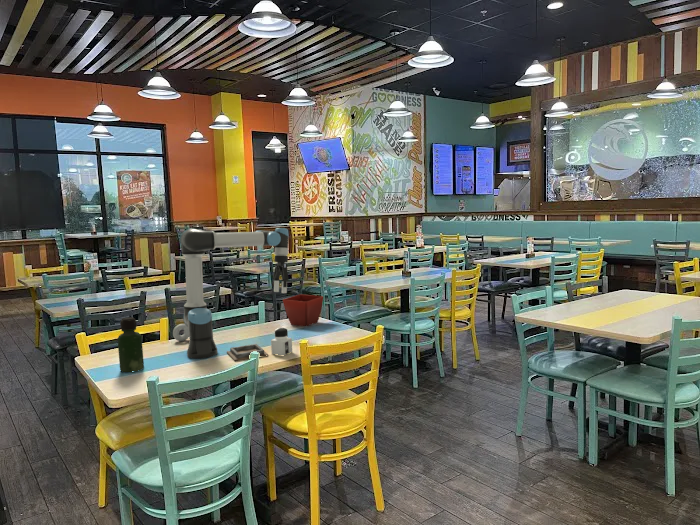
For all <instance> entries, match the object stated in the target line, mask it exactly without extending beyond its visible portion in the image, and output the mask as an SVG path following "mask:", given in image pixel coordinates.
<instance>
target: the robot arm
mask: <svg viewBox="0 0 700 525" xmlns="http://www.w3.org/2000/svg"><path fill="white" fill-rule="evenodd" d="M289 236H290V235H289V229H288V228H285V227H283V228H282V227H276V228H275V230H274V231H272V230H271V231H270V230H262V229H261V230H255V231H251V232H250V231H241V232H240V231H239V232H215V231H213V230H201V229H199V228H187V229H186V230H184V231H183V232H182V234H181V235H180V237H179V242H180V245H181V255H182V256H183V257H184V260H185V261H184V262H185V264H184V265H185V292H186V302H185V303H184V305H183V316H182V321H183V324H185V325H186V326H187V327H188V328H189V337H188V338H189V343H188V346H187V351H186V356H187V358H189V359H193V360H194V359H195V360H196V359H197V360H198V359H200V360H201V359H207V358H212V357H215V356H216V355H218V354H219V353H218V348H217V345H216V342H215V340H214V331H213V330H214V329H213V314H212V311H211V310H210V309H208V308H207V306H208V305H207V302H205V300H204V280H203V279H204V278H203V277H204V276H203V257H204V255H205V252H206V251H210V250H211V251H212V250H215V249H216V248H238V247H265V246H271V247H274V259H273V260H274V263H275V264H274V270H273V276H272V280H273V292H274V293H279V292H280V276H281V294H287V290H288V281H289V273H288V272H289V271H288V262H289V260H288V259H289V257H288V254H289V251H290V250H289Z"/></svg>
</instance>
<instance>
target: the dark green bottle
mask: <svg viewBox="0 0 700 525" xmlns="http://www.w3.org/2000/svg"><path fill="white" fill-rule="evenodd" d="M120 329H121V332H122V333H121V334H119V335H118V336H117V346H118V347H117V349H118V358H119V359H118V360H119V370H121V371H123V372H122V373H124V372H132V371H137V372H139V371H141V369H142V370H143V369H144V368H145V364H144V363H145V362H144V351H143V350H144V348H143V337H142V335H141V333H139V332H138V331H136V330H137V321H136V318H134V317H133V316H130V317H123V318H122V319H121V320H120ZM138 370H139V371H138ZM121 371H120V372H121ZM132 373H133V372H132Z"/></svg>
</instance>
